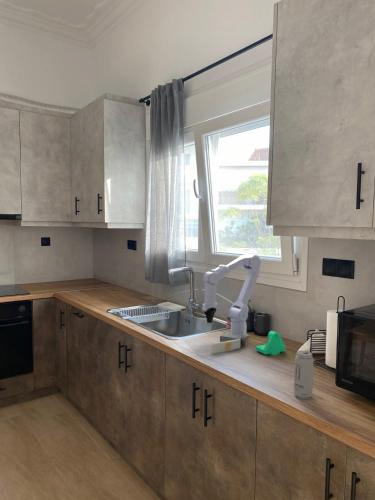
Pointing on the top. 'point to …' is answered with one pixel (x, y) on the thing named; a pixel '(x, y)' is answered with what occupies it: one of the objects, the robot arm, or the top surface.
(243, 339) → the block
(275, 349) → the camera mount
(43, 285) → the top surface
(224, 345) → the door
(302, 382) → the energy drink can
